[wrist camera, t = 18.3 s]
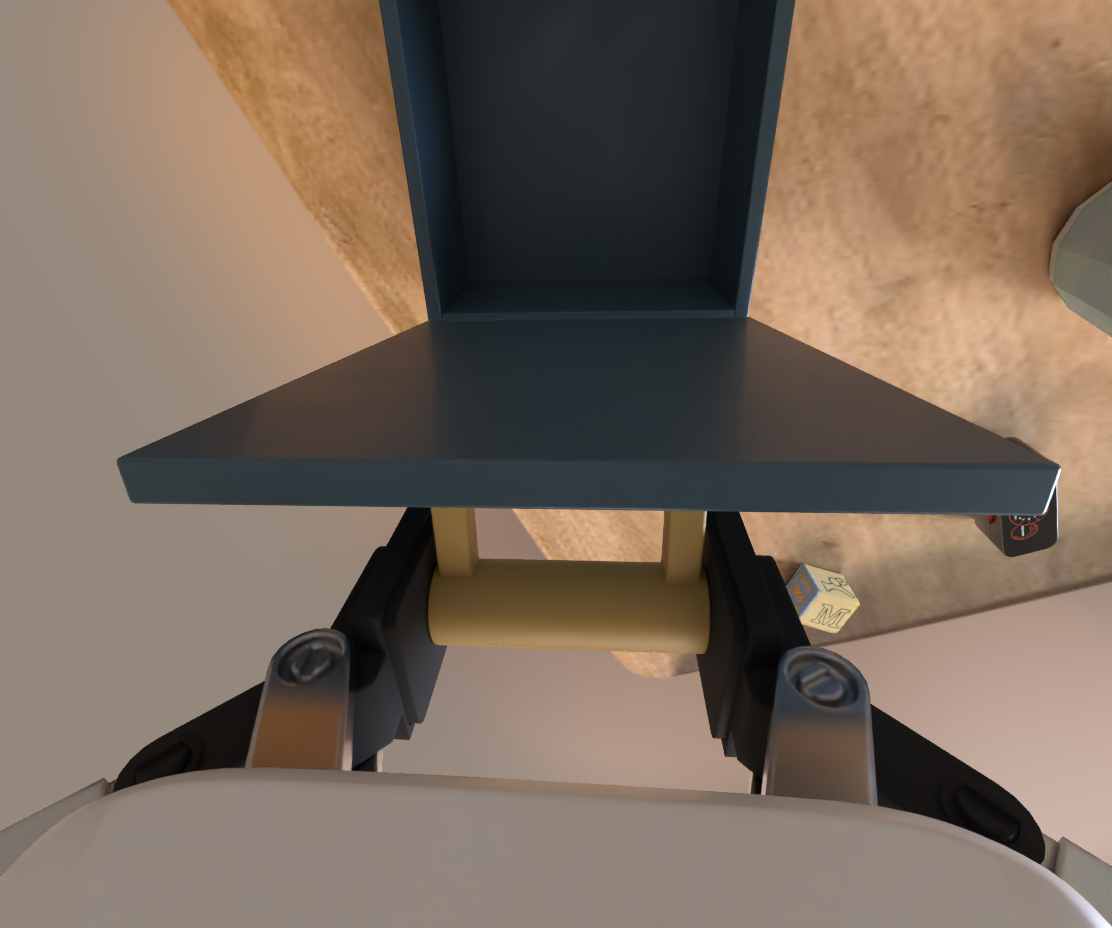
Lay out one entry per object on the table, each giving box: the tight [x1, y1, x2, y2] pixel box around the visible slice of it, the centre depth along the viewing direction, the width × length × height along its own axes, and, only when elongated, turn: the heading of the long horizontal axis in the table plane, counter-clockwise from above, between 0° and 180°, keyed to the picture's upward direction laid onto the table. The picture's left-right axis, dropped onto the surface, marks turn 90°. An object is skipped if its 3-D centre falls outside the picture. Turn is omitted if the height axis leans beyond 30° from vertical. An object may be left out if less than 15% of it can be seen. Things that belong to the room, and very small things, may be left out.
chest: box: [379, 0, 795, 321], centre depth 22 cm, size 15×14×7 cm
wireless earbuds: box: [974, 437, 1058, 557], centre depth 31 cm, size 5×7×3 cm, turn 25°
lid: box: [117, 317, 1061, 654], centre depth 16 cm, size 16×14×5 cm
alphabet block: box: [786, 564, 859, 633], centre depth 37 cm, size 3×3×3 cm
